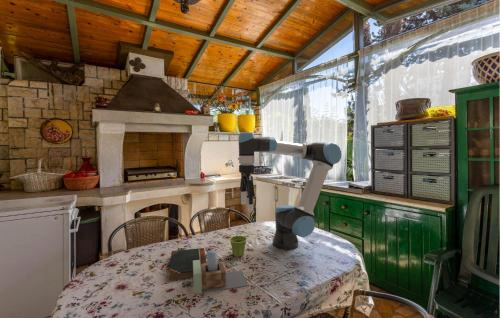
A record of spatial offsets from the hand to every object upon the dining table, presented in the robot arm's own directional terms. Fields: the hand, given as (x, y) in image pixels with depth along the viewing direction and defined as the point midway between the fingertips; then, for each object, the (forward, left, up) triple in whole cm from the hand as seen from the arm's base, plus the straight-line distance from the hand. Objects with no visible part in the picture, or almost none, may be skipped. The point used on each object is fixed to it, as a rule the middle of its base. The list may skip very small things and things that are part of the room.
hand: (246, 207), depth 122 cm
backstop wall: (+25, +12, -29) cm, 40 cm away
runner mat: (+14, +12, -29) cm, 34 cm away
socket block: (+19, +12, -29) cm, 36 cm away
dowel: (+18, +12, -27) cm, 35 cm away
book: (+28, -7, -29) cm, 42 cm away
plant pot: (+2, -12, -29) cm, 31 cm away
